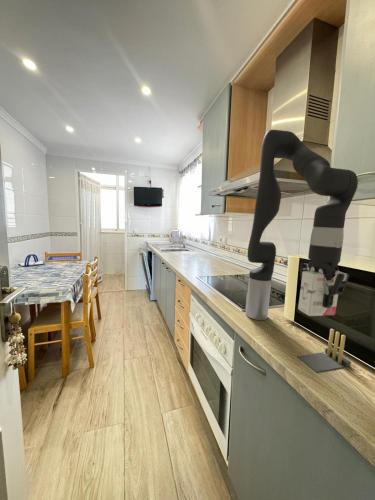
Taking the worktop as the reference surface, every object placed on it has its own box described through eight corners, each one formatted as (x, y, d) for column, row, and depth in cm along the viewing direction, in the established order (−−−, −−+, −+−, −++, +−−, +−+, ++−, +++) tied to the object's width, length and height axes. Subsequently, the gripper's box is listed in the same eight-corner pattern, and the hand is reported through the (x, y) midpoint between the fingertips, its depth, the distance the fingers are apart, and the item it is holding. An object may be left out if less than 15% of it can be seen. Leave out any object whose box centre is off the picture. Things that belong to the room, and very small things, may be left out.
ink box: (322, 308, 63) (328, 270, 62) (336, 315, 59) (342, 274, 57) (297, 309, 62) (301, 270, 60) (309, 316, 57) (314, 274, 56)
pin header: (322, 353, 68) (326, 327, 67) (328, 352, 69) (332, 326, 67) (343, 367, 61) (348, 338, 60) (350, 366, 62) (354, 338, 61)
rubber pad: (297, 356, 65) (297, 355, 65) (322, 353, 68) (322, 352, 68) (316, 372, 59) (316, 371, 59) (343, 367, 61) (343, 366, 61)
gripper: (294, 241, 64) (288, 295, 66) (339, 247, 50) (330, 315, 52) (314, 241, 66) (308, 294, 68) (363, 247, 52) (353, 313, 54)
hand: (317, 302), depth 60 cm, fingers closed on ink box, 5 cm apart
